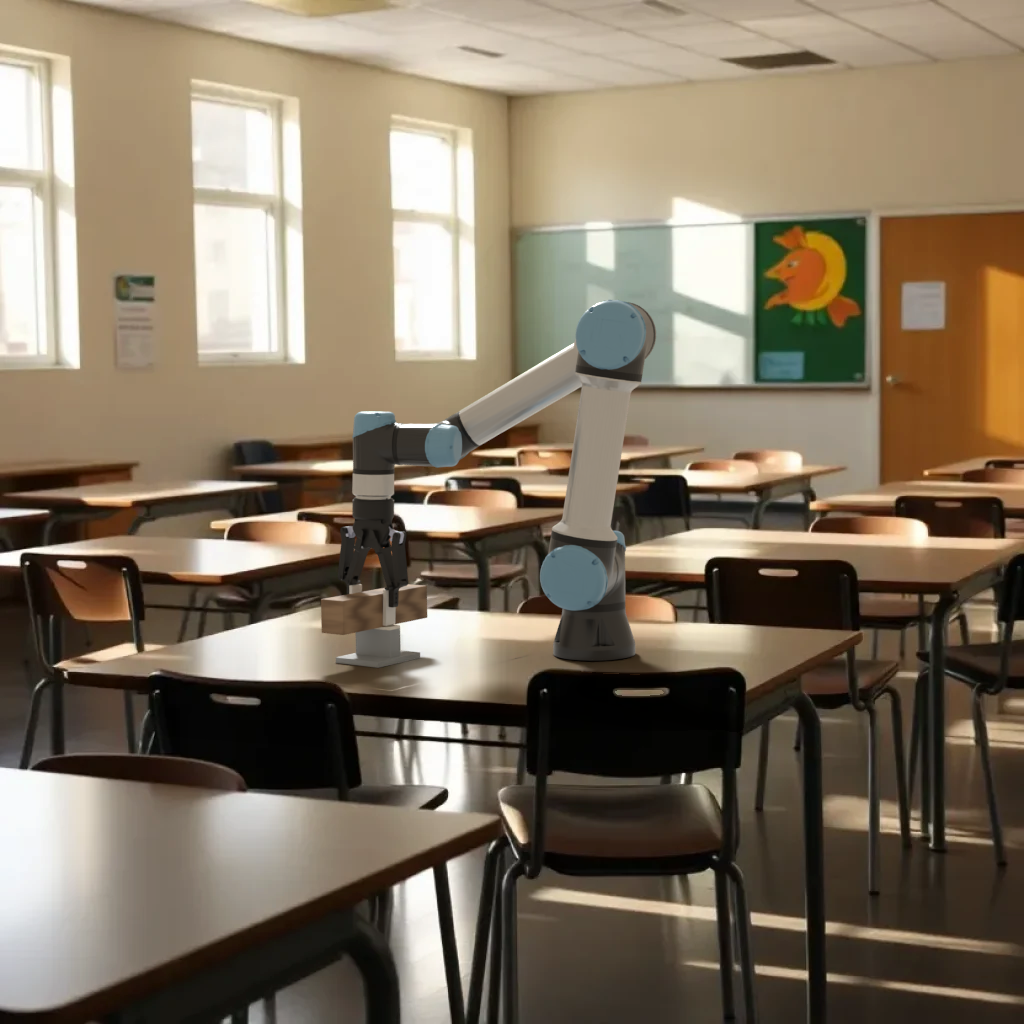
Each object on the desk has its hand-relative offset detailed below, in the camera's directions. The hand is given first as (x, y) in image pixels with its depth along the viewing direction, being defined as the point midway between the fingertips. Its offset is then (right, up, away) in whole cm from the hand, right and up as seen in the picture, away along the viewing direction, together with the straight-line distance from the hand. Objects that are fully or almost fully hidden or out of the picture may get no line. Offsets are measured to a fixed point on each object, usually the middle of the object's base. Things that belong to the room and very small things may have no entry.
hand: (372, 622), depth 315 cm
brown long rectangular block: (+1, 0, -1) cm, 1 cm away
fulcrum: (+1, -7, 0) cm, 7 cm away
